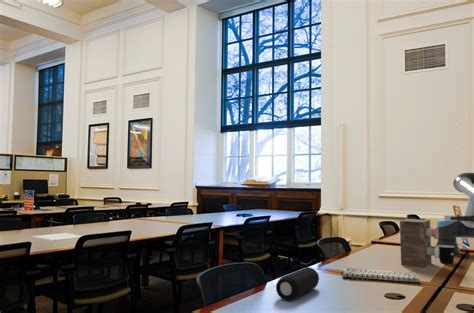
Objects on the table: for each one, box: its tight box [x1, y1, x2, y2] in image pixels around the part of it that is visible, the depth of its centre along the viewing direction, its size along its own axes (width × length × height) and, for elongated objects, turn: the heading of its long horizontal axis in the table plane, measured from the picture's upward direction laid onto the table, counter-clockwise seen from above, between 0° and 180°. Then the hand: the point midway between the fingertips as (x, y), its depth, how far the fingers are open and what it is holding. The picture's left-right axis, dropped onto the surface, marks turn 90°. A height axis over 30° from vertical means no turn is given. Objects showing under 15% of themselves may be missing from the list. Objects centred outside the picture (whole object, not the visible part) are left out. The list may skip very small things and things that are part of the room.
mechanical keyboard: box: [341, 266, 421, 286], centre depth 201 cm, size 38×19×3 cm, turn 74°
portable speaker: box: [275, 267, 320, 301], centre depth 173 cm, size 26×10×10 cm, turn 144°
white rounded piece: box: [426, 245, 439, 259], centre depth 229 cm, size 7×12×7 cm, turn 51°
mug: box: [438, 245, 455, 265], centre depth 236 cm, size 12×9×10 cm
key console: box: [399, 218, 432, 269], centre depth 233 cm, size 16×13×26 cm
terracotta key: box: [426, 226, 439, 240], centre depth 229 cm, size 7×12×7 cm, turn 51°
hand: (447, 218), depth 224 cm, fingers open, 13 cm apart
